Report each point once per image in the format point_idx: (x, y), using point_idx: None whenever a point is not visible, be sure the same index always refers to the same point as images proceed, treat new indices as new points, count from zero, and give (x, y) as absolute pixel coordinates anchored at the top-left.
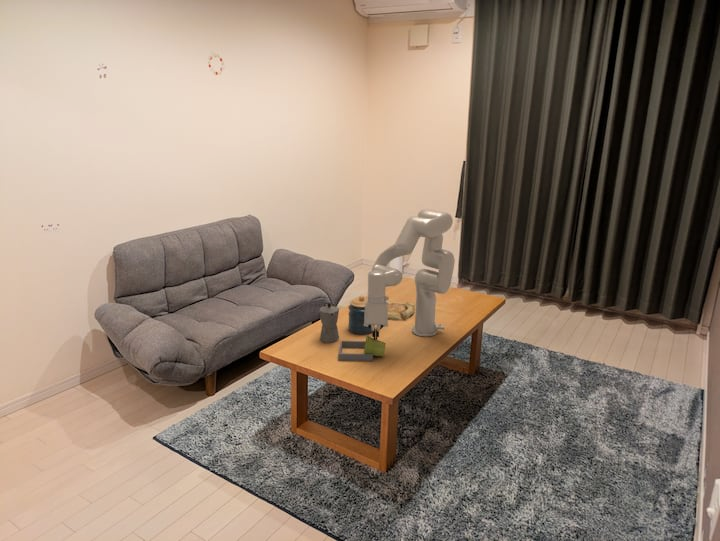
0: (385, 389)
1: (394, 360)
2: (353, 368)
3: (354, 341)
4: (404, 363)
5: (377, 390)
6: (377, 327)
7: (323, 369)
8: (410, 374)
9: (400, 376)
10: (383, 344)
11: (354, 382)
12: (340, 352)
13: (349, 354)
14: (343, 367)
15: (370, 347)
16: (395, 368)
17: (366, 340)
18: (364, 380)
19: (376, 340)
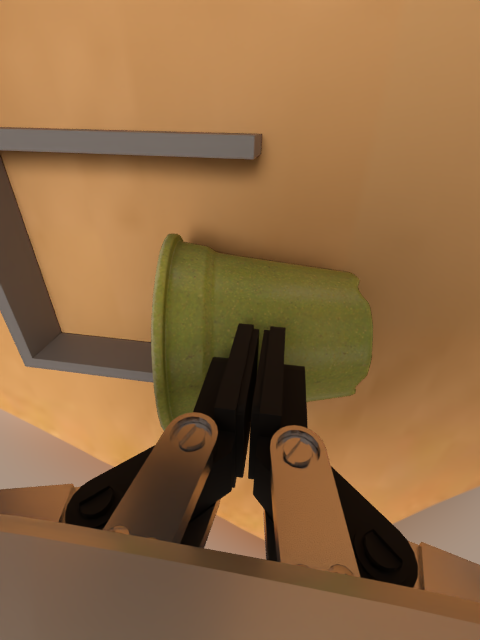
0: None
1: (398, 363)
2: (154, 415)
3: (53, 143)
4: (453, 400)
5: (261, 535)
6: (267, 546)
7: (26, 409)
8: (434, 486)
9: (376, 491)
10: (339, 394)
11: None
12: (28, 349)
13: (92, 374)
14: (105, 403)
15: None
16: (373, 438)
17: (169, 254)
18: None
19: None
